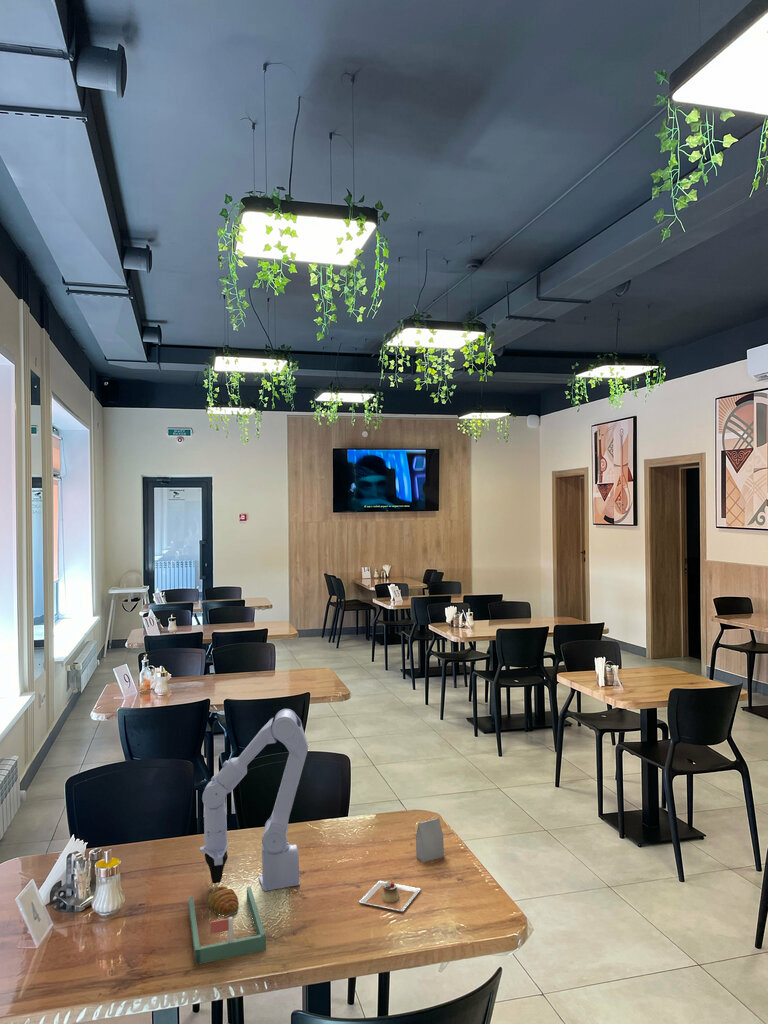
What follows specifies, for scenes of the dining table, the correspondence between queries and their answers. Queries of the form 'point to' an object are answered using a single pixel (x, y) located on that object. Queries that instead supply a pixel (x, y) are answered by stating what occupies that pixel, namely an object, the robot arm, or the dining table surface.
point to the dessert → (390, 893)
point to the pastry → (223, 901)
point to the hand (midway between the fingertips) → (216, 881)
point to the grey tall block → (429, 840)
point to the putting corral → (231, 946)
